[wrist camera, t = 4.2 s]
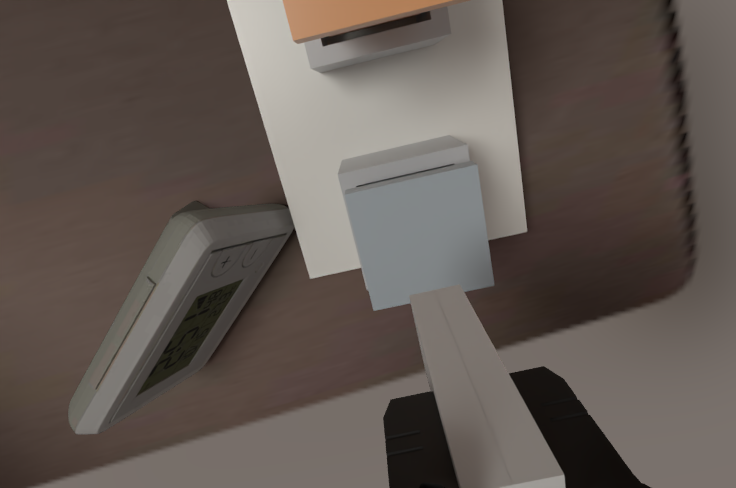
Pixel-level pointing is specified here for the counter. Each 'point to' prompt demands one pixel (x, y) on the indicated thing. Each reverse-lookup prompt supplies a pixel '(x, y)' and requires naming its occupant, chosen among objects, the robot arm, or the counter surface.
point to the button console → (383, 114)
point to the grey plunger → (421, 233)
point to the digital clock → (179, 308)
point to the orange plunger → (350, 15)
